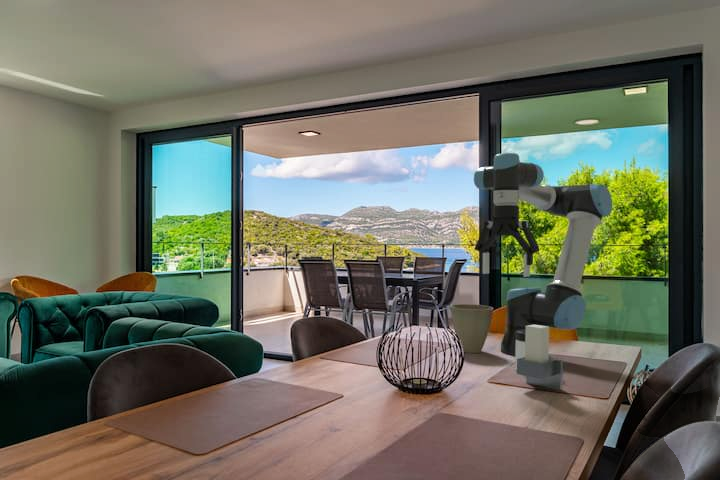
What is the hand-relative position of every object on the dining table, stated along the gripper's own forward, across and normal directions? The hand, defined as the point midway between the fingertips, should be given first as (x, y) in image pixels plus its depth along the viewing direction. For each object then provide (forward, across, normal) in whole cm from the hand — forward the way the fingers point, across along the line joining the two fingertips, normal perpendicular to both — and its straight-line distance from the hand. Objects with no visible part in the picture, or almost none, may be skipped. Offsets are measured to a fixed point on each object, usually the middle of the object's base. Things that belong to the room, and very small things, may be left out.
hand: (505, 275), depth 167 cm
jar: (+30, +4, +6) cm, 31 cm away
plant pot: (+30, -23, +18) cm, 42 cm away
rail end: (+24, +16, -12) cm, 31 cm away
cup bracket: (+29, +16, -12) cm, 35 cm away
